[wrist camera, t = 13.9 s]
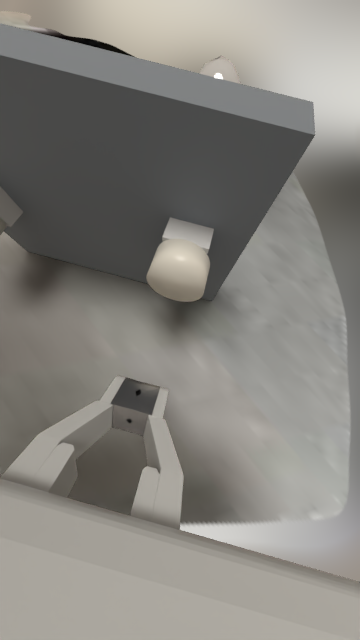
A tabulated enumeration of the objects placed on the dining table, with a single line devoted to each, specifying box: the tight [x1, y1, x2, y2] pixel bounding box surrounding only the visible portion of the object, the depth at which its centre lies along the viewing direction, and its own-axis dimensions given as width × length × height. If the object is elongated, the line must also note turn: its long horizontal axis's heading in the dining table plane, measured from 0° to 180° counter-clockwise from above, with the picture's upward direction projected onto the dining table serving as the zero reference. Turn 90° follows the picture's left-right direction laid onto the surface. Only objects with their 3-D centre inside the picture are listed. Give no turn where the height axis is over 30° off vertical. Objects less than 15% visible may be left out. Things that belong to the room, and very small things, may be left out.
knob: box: [146, 239, 210, 302], centre depth 12 cm, size 4×4×4 cm
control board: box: [0, 24, 315, 301], centre depth 14 cm, size 5×27×16 cm, turn 76°
